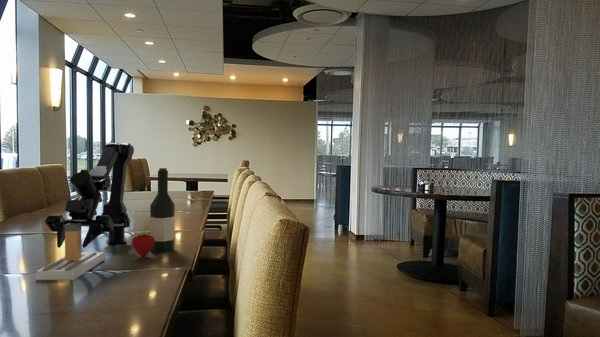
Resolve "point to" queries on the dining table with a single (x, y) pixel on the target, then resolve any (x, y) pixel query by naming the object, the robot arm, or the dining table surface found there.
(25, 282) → the dining table surface
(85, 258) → the dimmer console
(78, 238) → the fader lever
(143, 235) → the strawberry
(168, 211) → the wine bottle
